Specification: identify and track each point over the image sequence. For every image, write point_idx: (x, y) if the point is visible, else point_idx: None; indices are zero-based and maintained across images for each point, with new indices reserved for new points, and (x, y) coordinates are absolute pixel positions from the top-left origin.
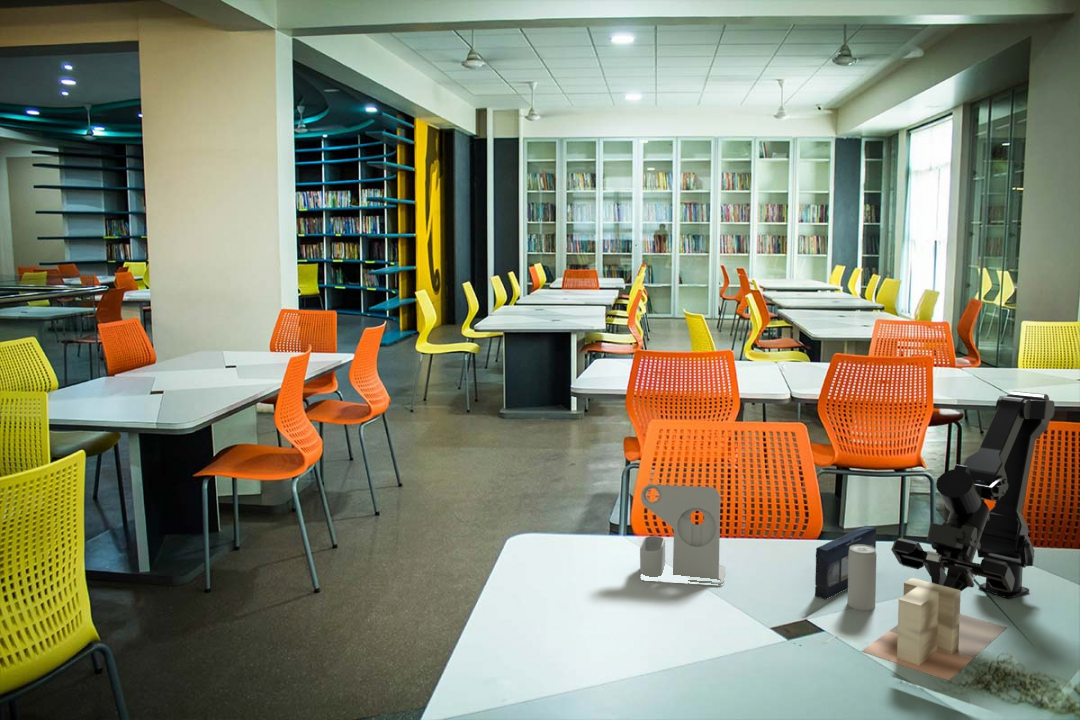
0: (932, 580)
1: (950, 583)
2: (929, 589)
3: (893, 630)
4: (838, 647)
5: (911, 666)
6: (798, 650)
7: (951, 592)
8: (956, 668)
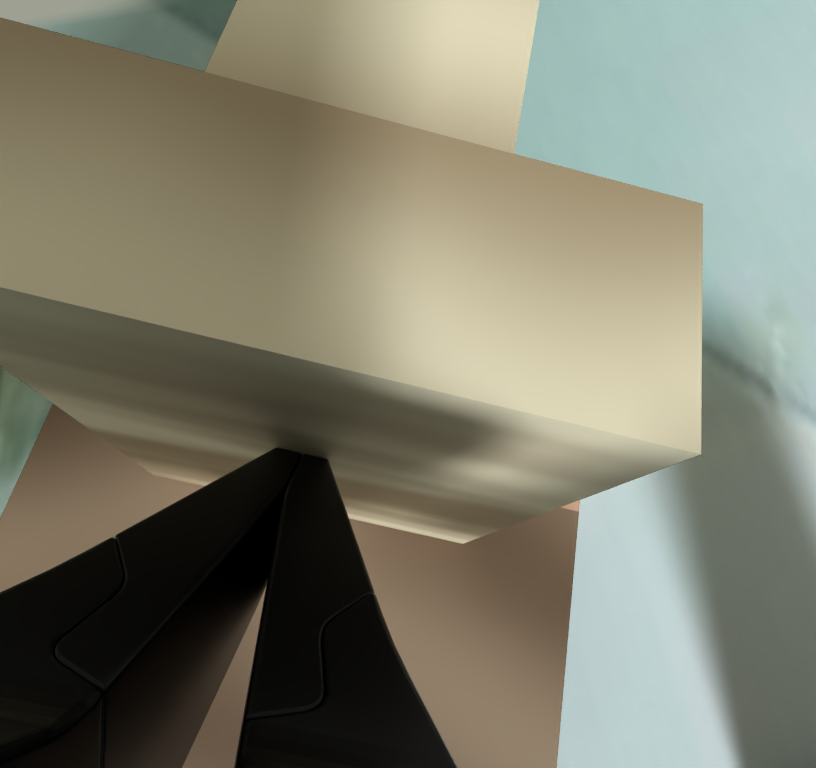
0: (385, 658)
1: (25, 608)
2: (342, 107)
3: (559, 537)
4: (708, 292)
5: None
6: (811, 200)
7: (16, 114)
8: None
